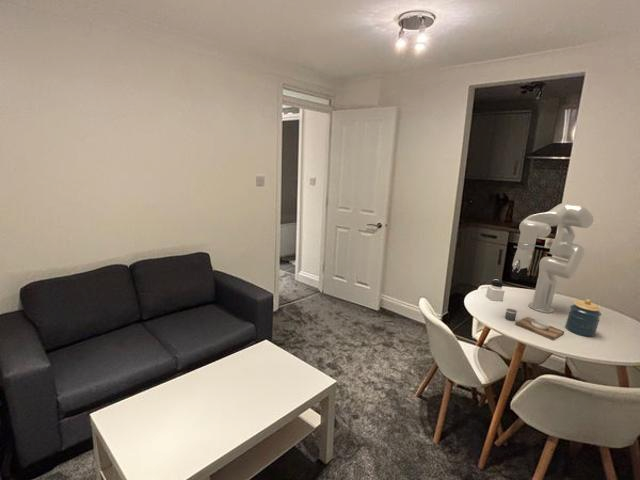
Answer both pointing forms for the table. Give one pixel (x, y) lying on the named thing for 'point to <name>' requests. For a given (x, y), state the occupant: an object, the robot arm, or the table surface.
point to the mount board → (541, 332)
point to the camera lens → (510, 314)
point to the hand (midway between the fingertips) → (518, 277)
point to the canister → (583, 318)
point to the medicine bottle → (495, 290)
